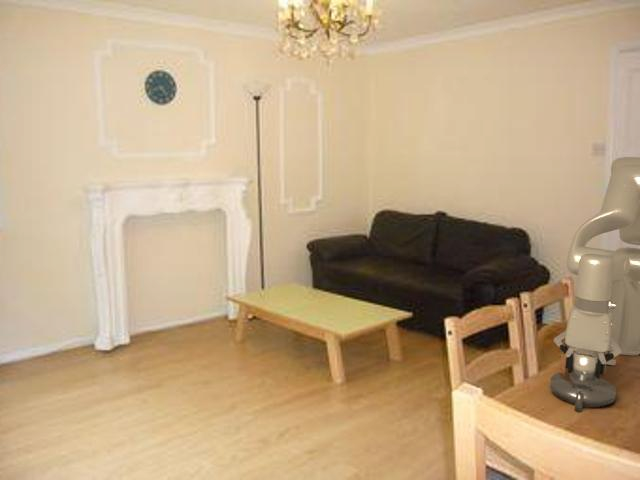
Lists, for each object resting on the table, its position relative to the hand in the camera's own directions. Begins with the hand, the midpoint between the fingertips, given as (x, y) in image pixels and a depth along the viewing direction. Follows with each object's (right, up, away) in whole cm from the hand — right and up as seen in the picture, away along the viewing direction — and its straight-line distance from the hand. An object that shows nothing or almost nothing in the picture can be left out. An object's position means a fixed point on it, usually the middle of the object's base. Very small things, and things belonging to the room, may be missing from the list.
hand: (583, 373), depth 146 cm
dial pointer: (-4, -7, -7) cm, 11 cm away
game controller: (+15, -3, +21) cm, 26 cm away
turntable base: (0, -6, +1) cm, 6 cm away
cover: (0, -1, 0) cm, 1 cm away
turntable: (0, -5, +1) cm, 5 cm away
